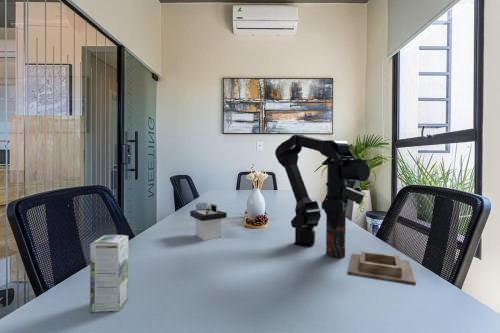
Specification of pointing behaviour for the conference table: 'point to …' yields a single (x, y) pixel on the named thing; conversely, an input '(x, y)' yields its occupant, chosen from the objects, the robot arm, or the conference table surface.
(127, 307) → the conference table surface
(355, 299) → the conference table surface
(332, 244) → the deodorant
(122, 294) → the syrup box
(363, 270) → the holder
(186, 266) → the conference table surface
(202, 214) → the black-topped pedestal
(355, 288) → the conference table surface
